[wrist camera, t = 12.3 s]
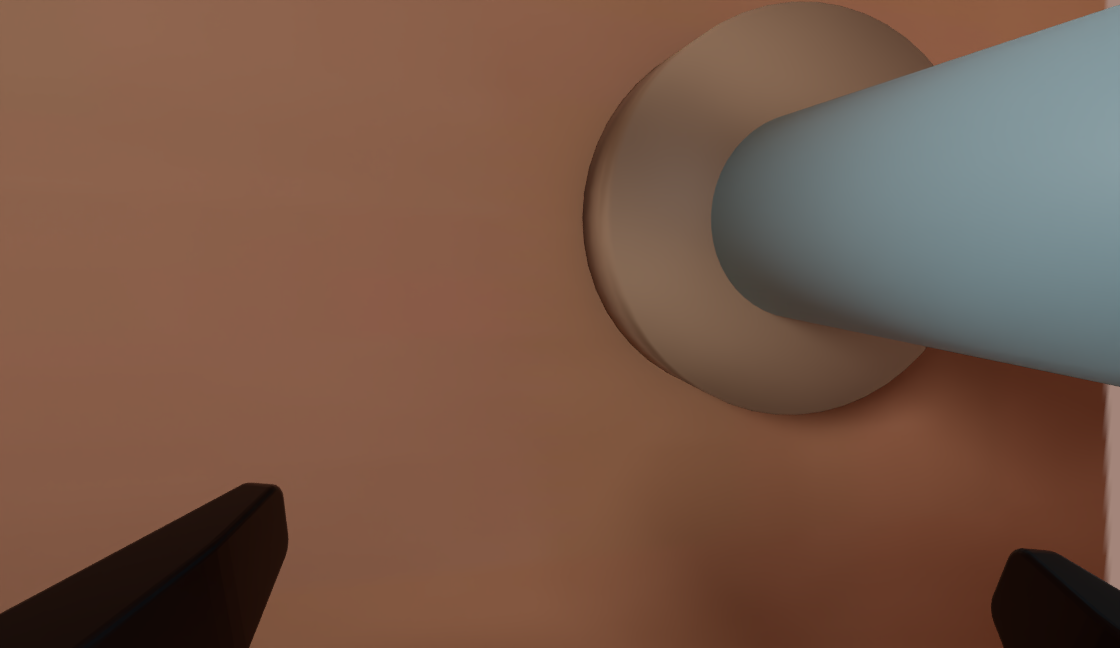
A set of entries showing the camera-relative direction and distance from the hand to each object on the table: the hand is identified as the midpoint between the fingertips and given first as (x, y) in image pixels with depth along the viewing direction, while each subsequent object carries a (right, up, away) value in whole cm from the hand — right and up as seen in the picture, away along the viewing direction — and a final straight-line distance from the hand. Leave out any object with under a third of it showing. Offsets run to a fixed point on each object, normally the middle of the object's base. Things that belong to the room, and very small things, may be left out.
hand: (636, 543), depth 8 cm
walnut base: (+5, +6, +13) cm, 15 cm away
